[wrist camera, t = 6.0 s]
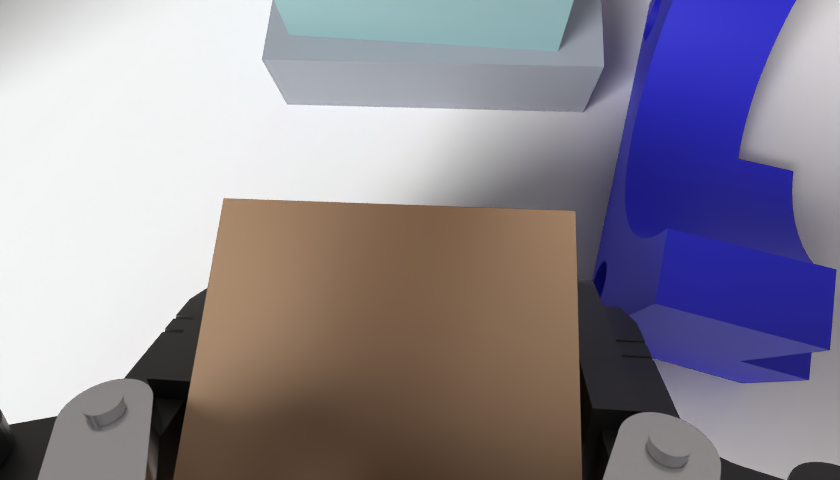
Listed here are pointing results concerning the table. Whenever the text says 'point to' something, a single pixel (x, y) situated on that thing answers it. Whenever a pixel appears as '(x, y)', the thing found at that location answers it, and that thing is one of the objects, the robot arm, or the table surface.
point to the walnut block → (386, 345)
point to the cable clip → (709, 206)
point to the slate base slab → (439, 70)
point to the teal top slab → (432, 21)
